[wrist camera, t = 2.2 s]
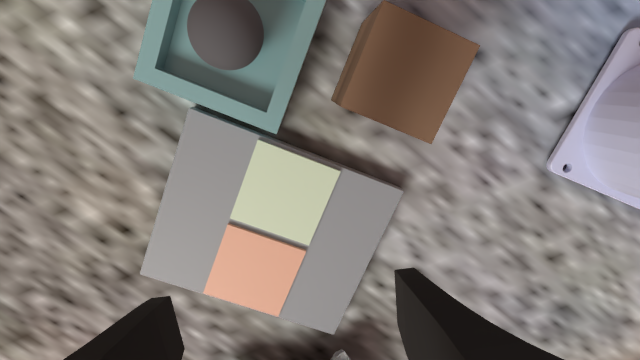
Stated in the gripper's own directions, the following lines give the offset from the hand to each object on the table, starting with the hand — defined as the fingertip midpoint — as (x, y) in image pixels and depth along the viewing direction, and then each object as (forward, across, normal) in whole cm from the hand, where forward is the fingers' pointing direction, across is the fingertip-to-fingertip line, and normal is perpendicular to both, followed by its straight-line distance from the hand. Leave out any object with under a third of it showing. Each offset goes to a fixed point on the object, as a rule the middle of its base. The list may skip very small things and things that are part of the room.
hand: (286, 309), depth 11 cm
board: (+9, +2, +1) cm, 9 cm away
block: (+9, -5, -7) cm, 12 cm away
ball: (+8, +2, -9) cm, 13 cm away
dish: (+9, +2, -9) cm, 13 cm away
